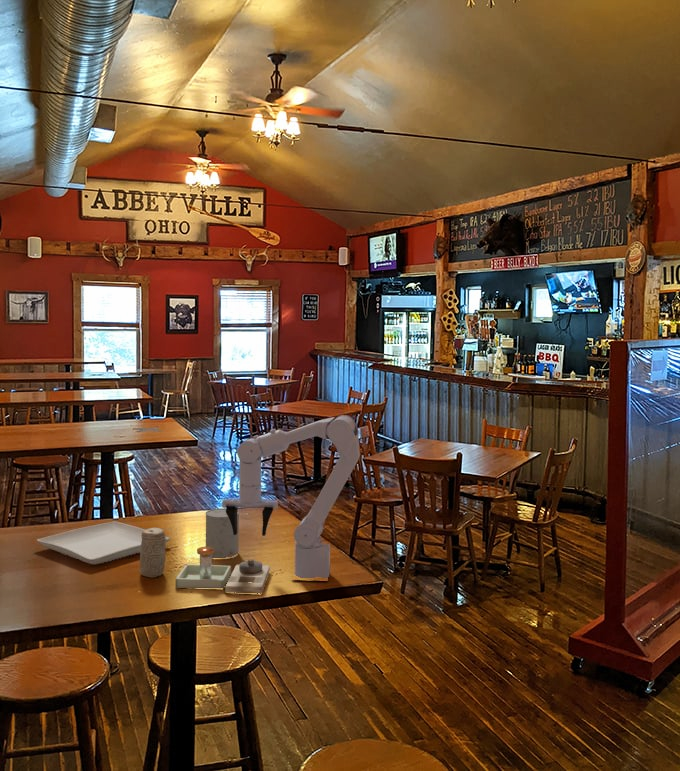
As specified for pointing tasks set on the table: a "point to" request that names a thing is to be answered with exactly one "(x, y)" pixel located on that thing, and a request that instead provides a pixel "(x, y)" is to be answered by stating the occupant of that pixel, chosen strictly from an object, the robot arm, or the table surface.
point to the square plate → (97, 542)
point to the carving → (152, 552)
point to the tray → (192, 579)
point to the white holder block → (248, 577)
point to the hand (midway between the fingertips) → (249, 534)
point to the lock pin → (205, 562)
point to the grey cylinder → (221, 534)
